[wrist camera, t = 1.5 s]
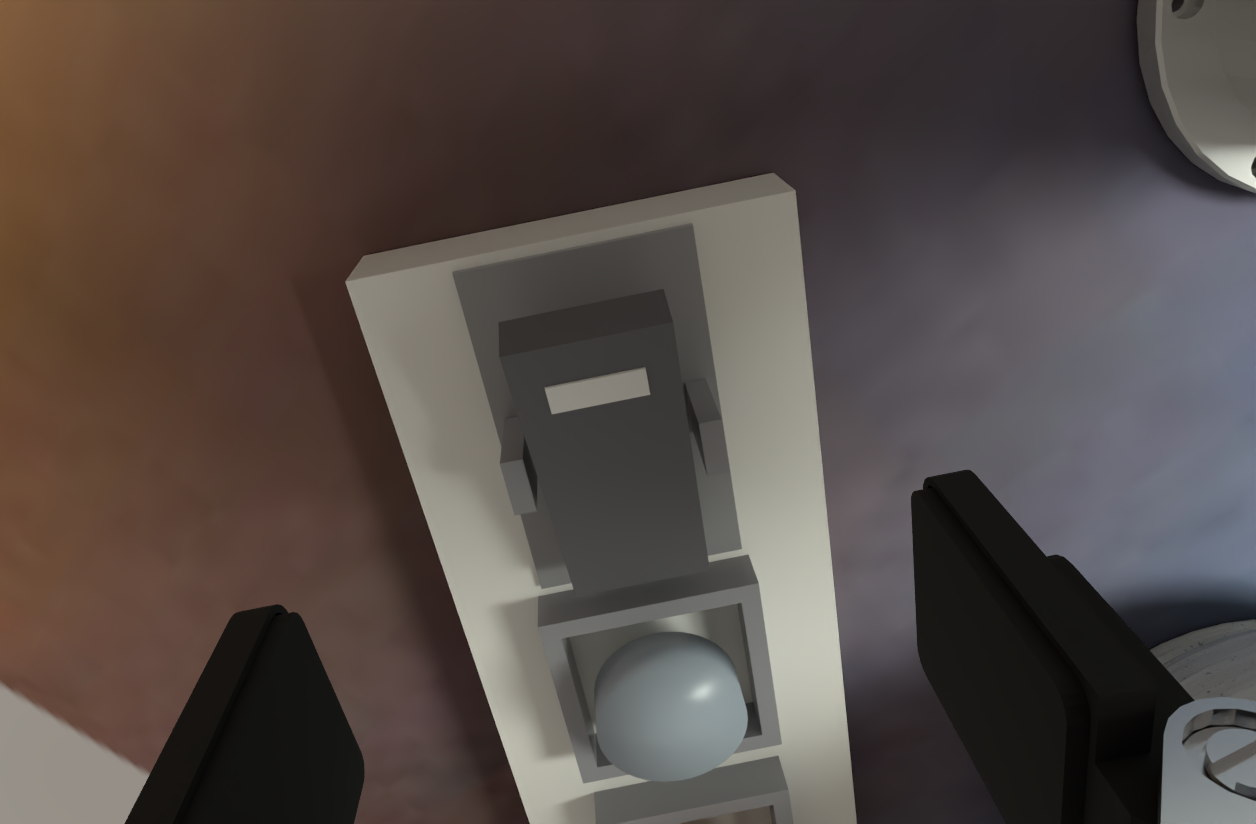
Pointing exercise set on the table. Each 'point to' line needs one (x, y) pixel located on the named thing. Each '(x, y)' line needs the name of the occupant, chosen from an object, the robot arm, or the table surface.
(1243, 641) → the vase
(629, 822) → the panel
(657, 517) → the block
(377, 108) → the table surface
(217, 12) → the table surface
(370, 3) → the table surface
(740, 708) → the grey button
